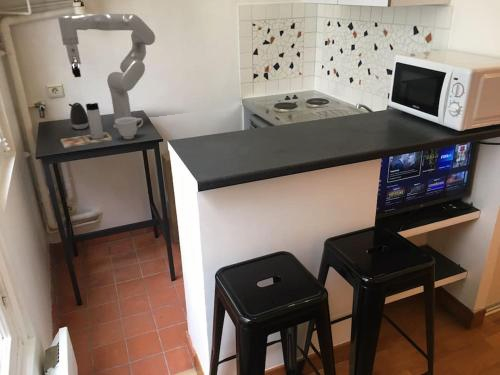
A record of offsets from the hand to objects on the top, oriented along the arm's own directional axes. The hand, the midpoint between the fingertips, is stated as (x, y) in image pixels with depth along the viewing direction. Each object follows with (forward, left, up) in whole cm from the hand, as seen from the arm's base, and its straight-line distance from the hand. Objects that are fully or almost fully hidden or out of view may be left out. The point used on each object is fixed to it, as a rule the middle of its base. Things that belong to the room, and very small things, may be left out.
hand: (76, 75), depth 222 cm
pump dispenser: (+1, -18, -33) cm, 38 cm away
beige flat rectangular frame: (+2, +9, -33) cm, 34 cm away
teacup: (-20, +16, -33) cm, 42 cm away
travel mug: (-4, +9, -33) cm, 35 cm away
